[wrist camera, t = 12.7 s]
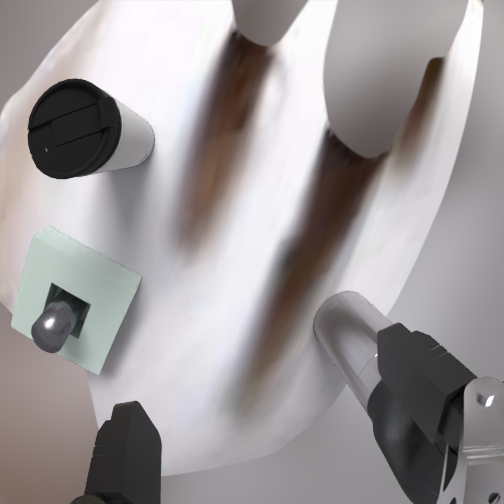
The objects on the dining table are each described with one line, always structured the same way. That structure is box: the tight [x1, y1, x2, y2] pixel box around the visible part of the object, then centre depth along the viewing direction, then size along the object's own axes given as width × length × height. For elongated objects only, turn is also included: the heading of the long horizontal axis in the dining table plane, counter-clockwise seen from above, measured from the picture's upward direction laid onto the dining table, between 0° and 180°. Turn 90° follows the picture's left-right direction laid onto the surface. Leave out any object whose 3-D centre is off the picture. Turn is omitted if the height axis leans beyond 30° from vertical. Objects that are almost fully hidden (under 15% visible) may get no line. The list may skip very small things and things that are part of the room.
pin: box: [31, 289, 88, 353], centre depth 32 cm, size 4×4×10 cm
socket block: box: [11, 225, 142, 375], centre depth 35 cm, size 14×14×5 cm
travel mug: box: [28, 79, 155, 179], centre depth 24 cm, size 6×7×20 cm
